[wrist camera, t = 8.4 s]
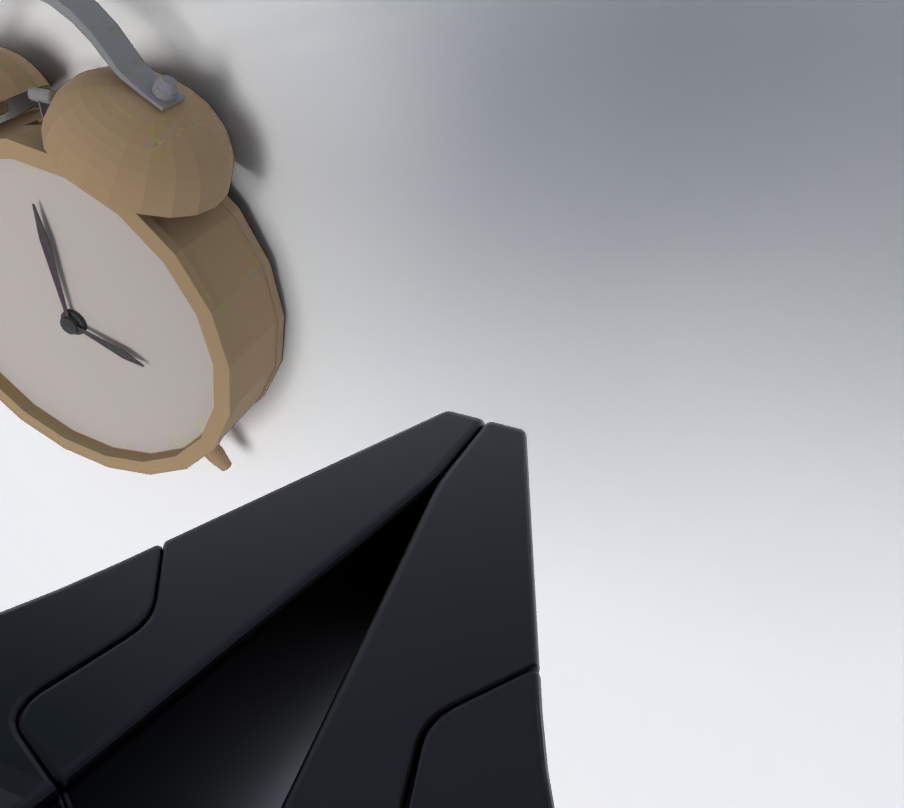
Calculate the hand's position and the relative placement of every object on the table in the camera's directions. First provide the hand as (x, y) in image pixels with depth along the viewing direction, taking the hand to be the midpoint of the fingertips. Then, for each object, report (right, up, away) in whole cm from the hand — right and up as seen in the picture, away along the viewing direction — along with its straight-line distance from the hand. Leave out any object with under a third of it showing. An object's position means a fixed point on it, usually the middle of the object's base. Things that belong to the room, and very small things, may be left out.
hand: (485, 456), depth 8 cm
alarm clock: (-10, +6, +18) cm, 21 cm away
